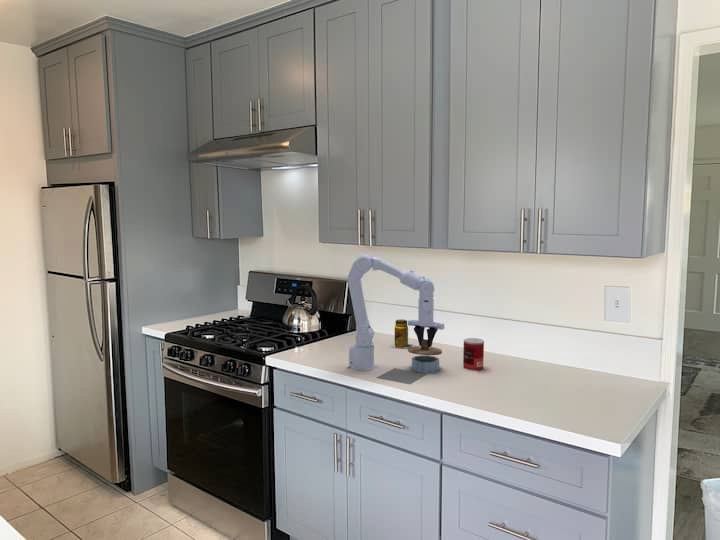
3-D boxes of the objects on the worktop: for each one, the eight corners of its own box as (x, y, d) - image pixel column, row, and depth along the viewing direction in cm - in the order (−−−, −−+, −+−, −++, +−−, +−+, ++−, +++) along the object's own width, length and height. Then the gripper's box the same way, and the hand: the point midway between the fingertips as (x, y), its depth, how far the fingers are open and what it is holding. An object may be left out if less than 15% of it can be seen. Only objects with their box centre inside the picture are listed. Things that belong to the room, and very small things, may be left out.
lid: (401, 351, 208) (402, 339, 208) (417, 347, 219) (417, 335, 219) (433, 356, 201) (433, 344, 201) (447, 351, 212) (447, 340, 212)
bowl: (407, 370, 210) (407, 360, 209) (419, 363, 219) (419, 354, 218) (431, 374, 204) (432, 364, 204) (443, 367, 213) (443, 357, 213)
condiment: (391, 347, 245) (391, 321, 244) (398, 343, 252) (398, 317, 251) (406, 349, 242) (406, 322, 240) (413, 345, 249) (413, 319, 248)
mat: (375, 378, 200) (375, 377, 200) (394, 369, 211) (394, 368, 211) (410, 385, 192) (410, 384, 192) (427, 375, 204) (427, 374, 204)
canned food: (483, 365, 216) (484, 338, 215) (482, 371, 208) (483, 343, 207) (464, 364, 218) (464, 337, 217) (462, 370, 210) (462, 342, 209)
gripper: (404, 310, 209) (403, 345, 211) (439, 314, 202) (438, 350, 203) (412, 307, 215) (412, 341, 217) (446, 311, 208) (446, 346, 209)
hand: (425, 345), depth 210 cm, fingers closed on lid, 3 cm apart
